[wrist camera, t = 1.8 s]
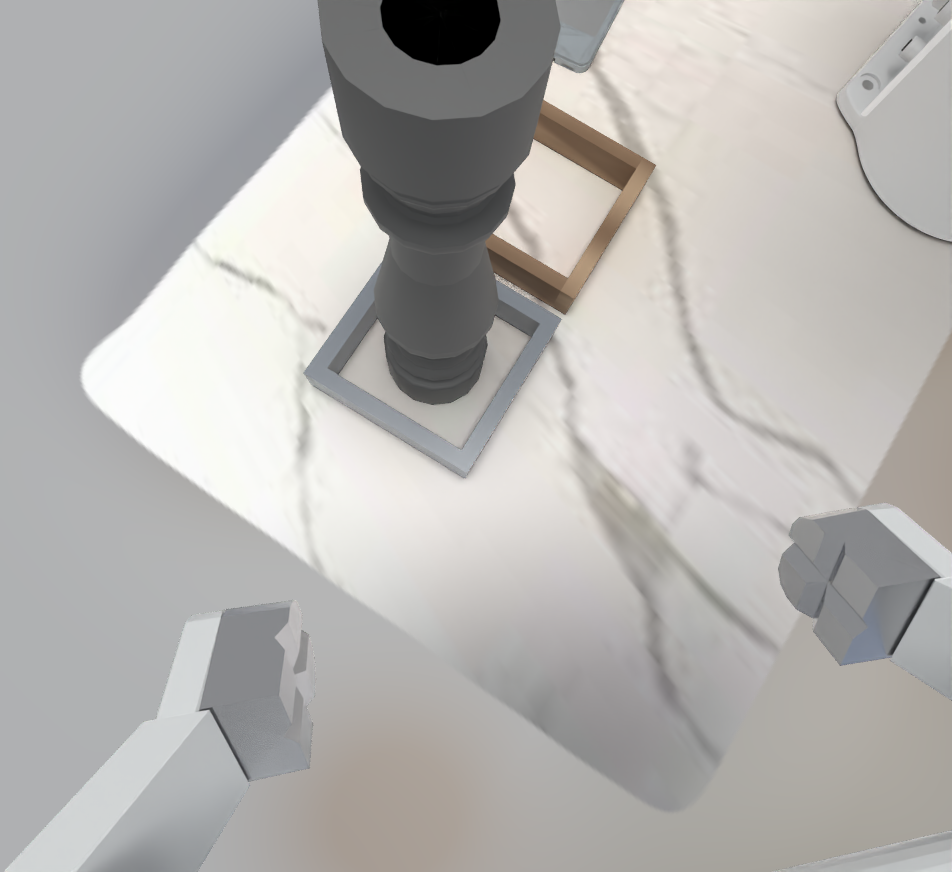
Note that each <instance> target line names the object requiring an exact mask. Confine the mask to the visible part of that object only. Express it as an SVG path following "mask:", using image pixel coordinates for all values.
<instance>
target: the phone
mask: <svg viewBox="0 0 952 872" xmlns="http://www.w3.org/2000/svg"><path fill="white" fill-rule="evenodd" d="M623 1H624V0H556V5H557V10H558V15H559V20H560V25H561V29H560V33H559V37H558V41H557V45H556V49H555V53H554V57H553V58H555V63H557V64H559V65H561V66H563V67H565V68H567V69H569V70H571V71H574V72H576V73H583V72H585V71H587V70H588V68H589V66H590V64H591V62H592V60H593V59H594V57H595V55H596V53H597V51H598V49H599V47H600V45H601V43H602V41H603V39H604V38H605V36H606V34H607V32H608V30H609V28H610V26H611V24H612V22H613V20H614V18H615V17H616V15H617V13H618V11H619V9H620V7H621V5H622V3H623Z"/></svg>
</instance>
